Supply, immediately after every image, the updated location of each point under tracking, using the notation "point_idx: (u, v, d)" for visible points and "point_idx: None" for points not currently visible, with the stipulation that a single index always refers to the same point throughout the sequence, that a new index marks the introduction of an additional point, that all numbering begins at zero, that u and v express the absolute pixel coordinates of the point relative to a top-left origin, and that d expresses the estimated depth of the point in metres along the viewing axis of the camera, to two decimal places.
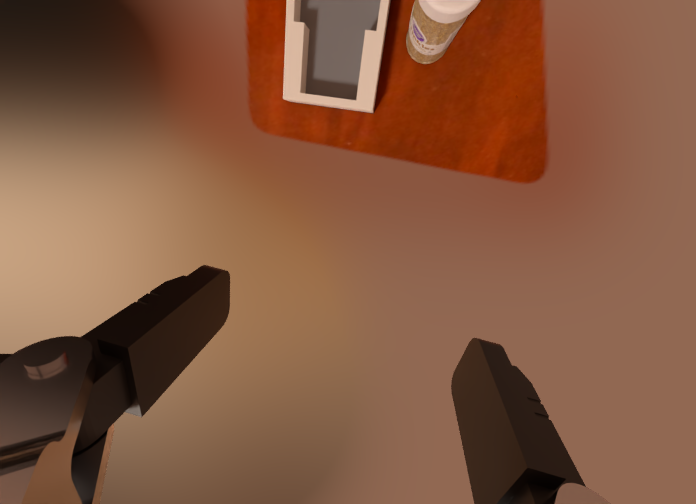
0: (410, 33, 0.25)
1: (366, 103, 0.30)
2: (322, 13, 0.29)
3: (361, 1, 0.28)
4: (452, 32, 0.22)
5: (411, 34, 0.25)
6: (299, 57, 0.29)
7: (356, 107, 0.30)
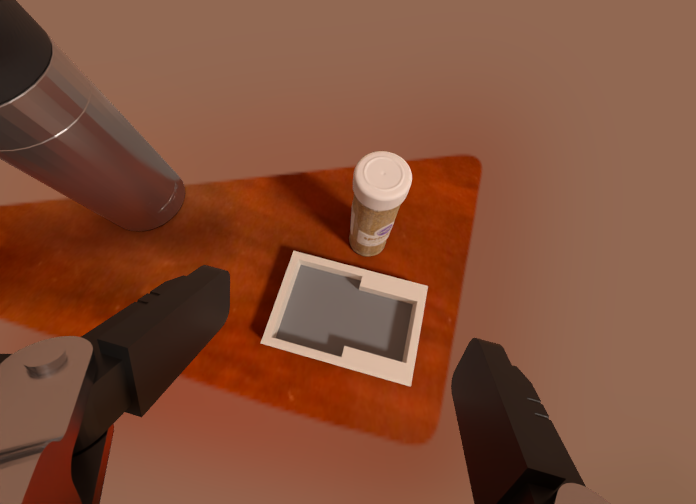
0: (375, 242, 0.29)
1: (420, 291, 0.29)
2: (333, 330, 0.29)
3: (331, 291, 0.31)
4: None
5: (377, 241, 0.29)
6: (373, 357, 0.27)
7: (423, 301, 0.29)
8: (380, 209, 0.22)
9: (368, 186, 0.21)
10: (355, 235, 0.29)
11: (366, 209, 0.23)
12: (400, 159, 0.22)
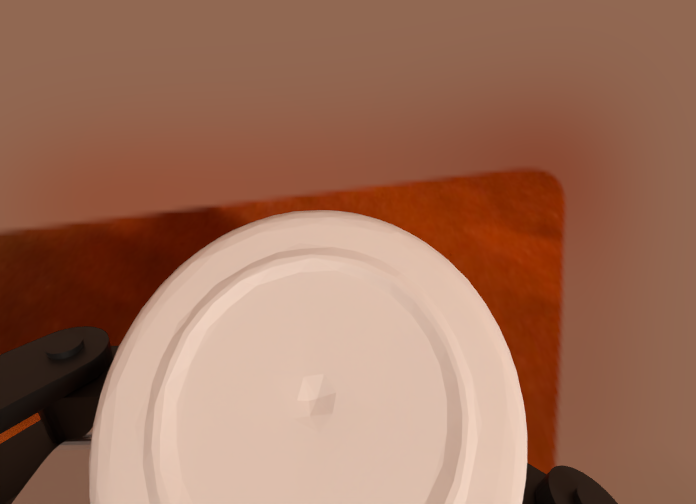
0: None
1: None
2: None
3: None
4: None
5: None
6: None
7: None
8: None
9: None
10: None
11: None
12: (436, 271, 0.03)
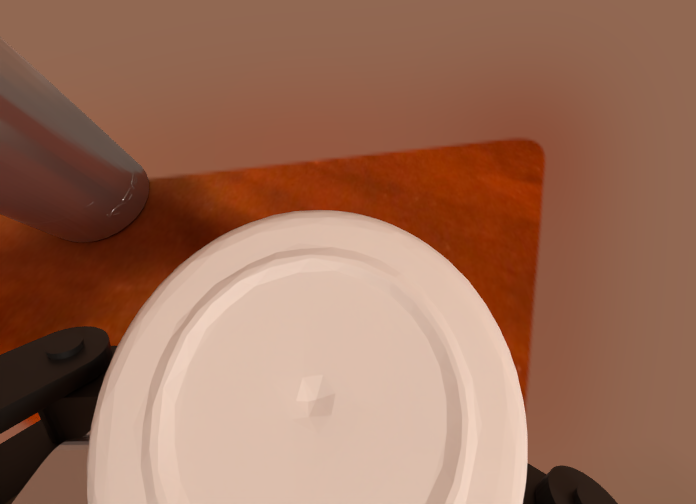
0: None
1: None
2: None
3: None
4: None
5: None
6: None
7: None
8: None
9: None
10: None
11: None
12: (436, 271, 0.03)
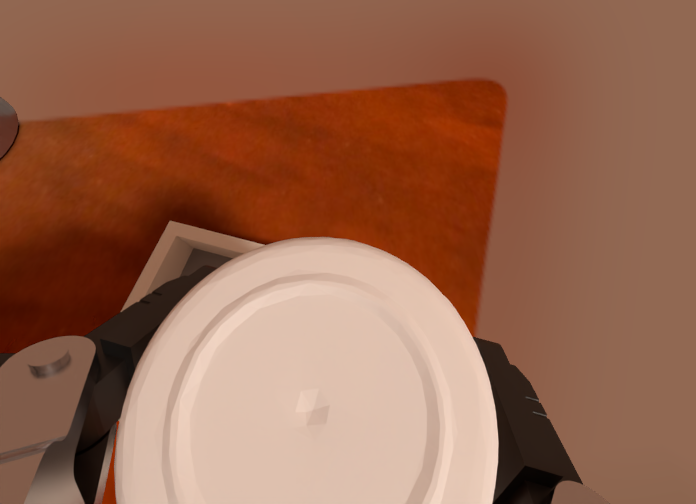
0: None
1: None
2: None
3: None
4: None
5: None
6: None
7: None
8: None
9: None
10: None
11: None
12: (420, 294, 0.04)
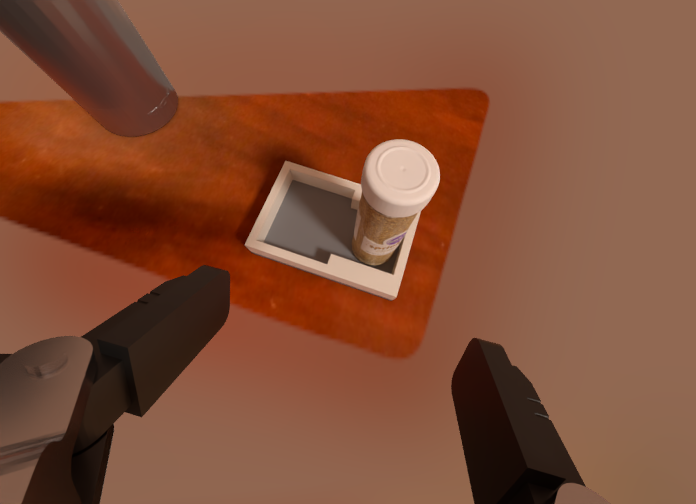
0: (383, 252, 0.24)
1: None
2: (321, 243, 0.28)
3: (322, 207, 0.30)
4: None
5: (385, 250, 0.24)
6: (360, 266, 0.26)
7: (417, 218, 0.28)
8: (395, 215, 0.17)
9: (382, 185, 0.16)
10: (359, 241, 0.24)
11: (376, 213, 0.18)
12: (426, 151, 0.16)
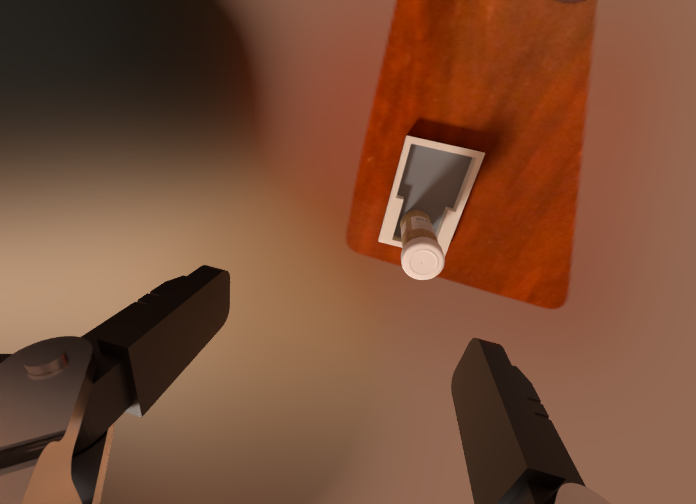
0: None
1: None
2: (415, 188, 0.39)
3: (445, 185, 0.39)
4: None
5: None
6: (395, 219, 0.40)
7: None
8: (401, 255, 0.31)
9: (411, 252, 0.29)
10: (407, 221, 0.37)
11: (405, 243, 0.32)
12: (435, 274, 0.30)
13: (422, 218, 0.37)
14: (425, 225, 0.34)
